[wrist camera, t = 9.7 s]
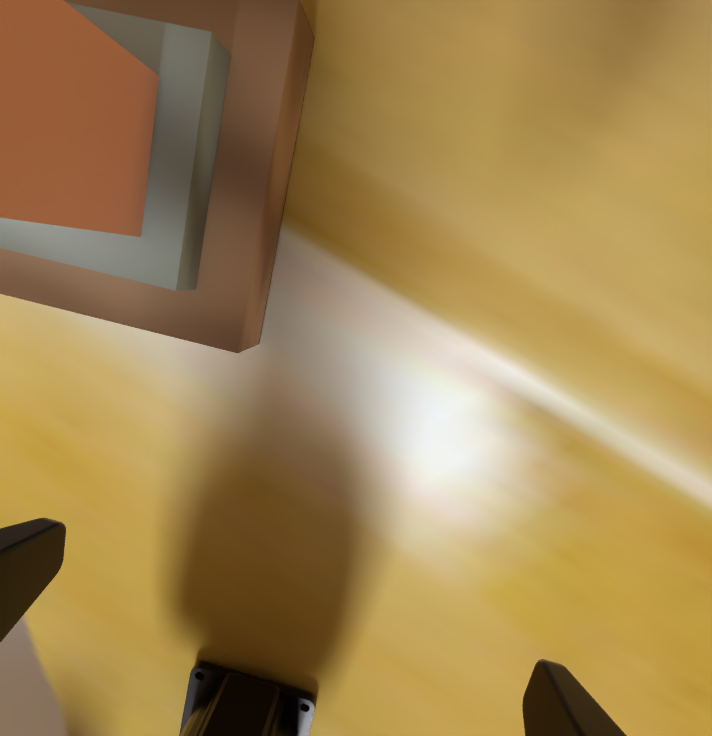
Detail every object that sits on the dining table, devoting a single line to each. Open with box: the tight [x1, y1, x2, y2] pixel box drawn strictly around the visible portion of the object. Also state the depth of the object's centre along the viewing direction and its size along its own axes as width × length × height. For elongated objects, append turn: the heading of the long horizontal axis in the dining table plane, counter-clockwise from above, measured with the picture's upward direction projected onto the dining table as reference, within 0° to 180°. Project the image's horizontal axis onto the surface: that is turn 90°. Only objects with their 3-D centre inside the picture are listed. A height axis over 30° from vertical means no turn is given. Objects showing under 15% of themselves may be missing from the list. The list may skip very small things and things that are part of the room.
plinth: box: [0, 0, 315, 353], centre depth 17 cm, size 12×12×4 cm
